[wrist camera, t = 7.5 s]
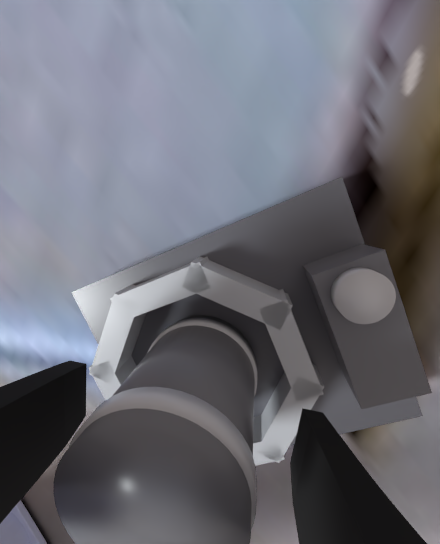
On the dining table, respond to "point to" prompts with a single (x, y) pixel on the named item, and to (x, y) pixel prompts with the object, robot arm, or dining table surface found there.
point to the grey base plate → (276, 316)
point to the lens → (169, 446)
